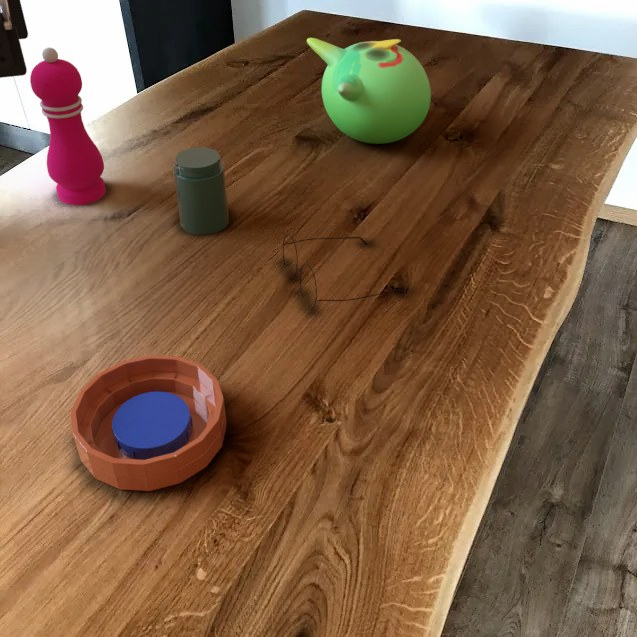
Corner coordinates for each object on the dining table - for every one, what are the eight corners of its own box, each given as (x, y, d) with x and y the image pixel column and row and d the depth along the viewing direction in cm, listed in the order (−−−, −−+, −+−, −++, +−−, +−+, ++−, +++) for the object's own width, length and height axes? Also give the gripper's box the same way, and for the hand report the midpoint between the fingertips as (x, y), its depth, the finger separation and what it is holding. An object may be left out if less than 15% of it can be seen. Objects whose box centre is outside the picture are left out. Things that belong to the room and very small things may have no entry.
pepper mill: (91, 212, 96) (56, 62, 84) (44, 203, 98) (3, 54, 85) (119, 187, 102) (91, 41, 89) (74, 178, 103) (40, 34, 91)
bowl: (60, 490, 62) (49, 459, 59) (104, 382, 72) (96, 352, 69) (212, 498, 61) (207, 467, 59) (235, 388, 71) (232, 358, 69)
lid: (198, 405, 69) (196, 393, 68) (183, 463, 63) (181, 450, 62) (126, 402, 69) (123, 389, 68) (105, 459, 64) (102, 446, 63)
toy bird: (444, 152, 110) (456, 54, 100) (340, 170, 105) (342, 70, 96) (394, 106, 123) (401, 15, 113) (299, 120, 118) (298, 27, 109)
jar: (176, 235, 92) (166, 168, 86) (186, 210, 97) (177, 144, 91) (224, 237, 92) (218, 170, 86) (232, 211, 97) (226, 146, 91)
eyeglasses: (365, 241, 91) (367, 206, 88) (409, 300, 82) (412, 263, 79) (279, 259, 88) (277, 224, 85) (314, 322, 79) (314, 285, 76)
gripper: (-3, -152, 51) (53, 87, 62) (6, -178, 64) (51, 23, 75) (-120, -148, 49) (-41, 97, 60) (-87, -176, 62) (-27, 30, 73)
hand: (10, 56), depth 67 cm, fingers open, 9 cm apart
